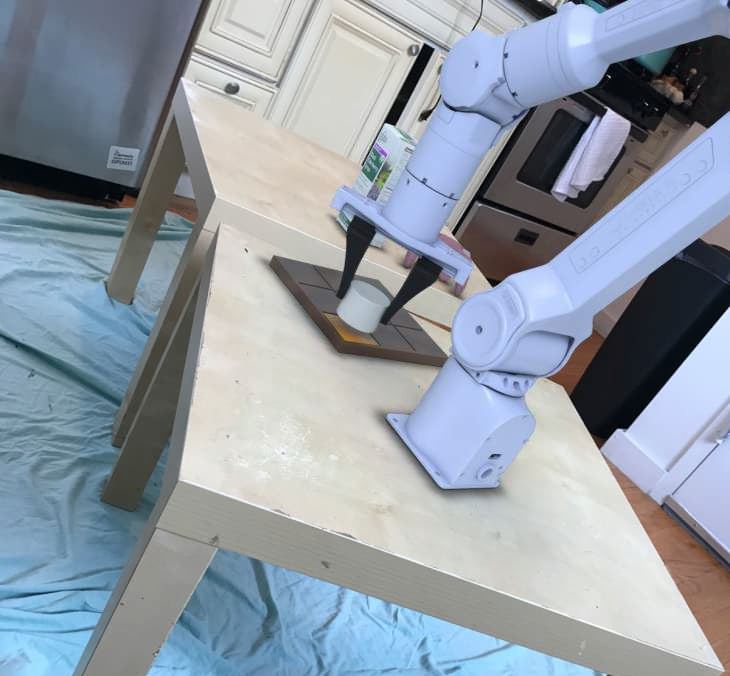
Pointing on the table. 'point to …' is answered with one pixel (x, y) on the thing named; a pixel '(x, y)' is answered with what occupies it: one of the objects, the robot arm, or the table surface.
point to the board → (320, 302)
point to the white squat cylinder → (363, 306)
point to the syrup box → (382, 170)
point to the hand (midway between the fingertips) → (362, 308)
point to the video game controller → (443, 276)
